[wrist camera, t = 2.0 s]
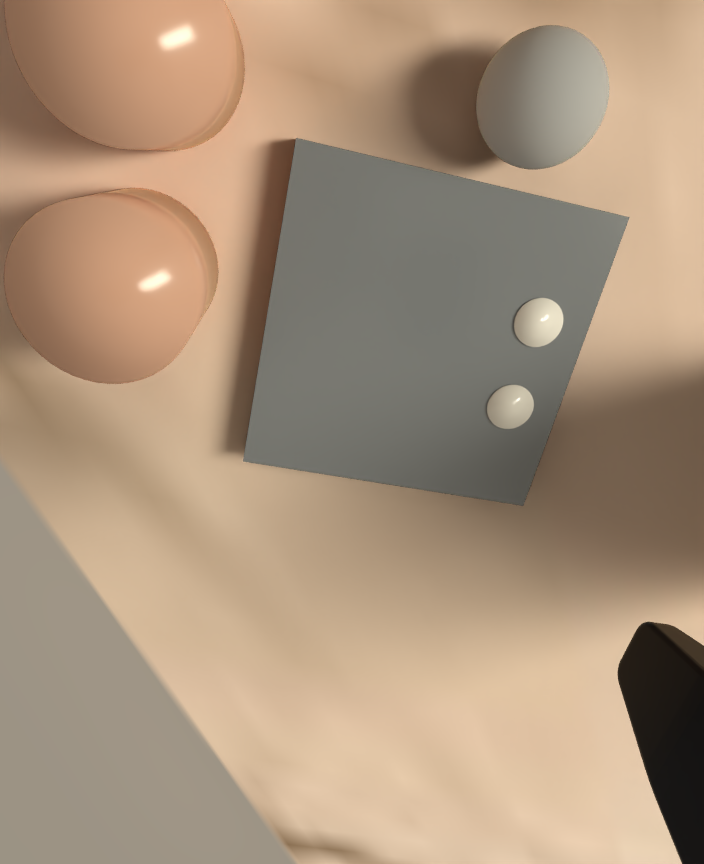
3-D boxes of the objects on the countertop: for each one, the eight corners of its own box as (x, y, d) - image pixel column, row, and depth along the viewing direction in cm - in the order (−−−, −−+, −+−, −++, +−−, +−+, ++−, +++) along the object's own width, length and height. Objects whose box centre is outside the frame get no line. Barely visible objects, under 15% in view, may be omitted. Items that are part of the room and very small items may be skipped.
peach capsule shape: (227, 206, 17) (206, 221, 13) (209, 348, 18) (185, 397, 15) (71, 172, 16) (3, 177, 13) (65, 322, 18) (3, 366, 14)
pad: (615, 214, 17) (630, 217, 17) (515, 493, 21) (523, 506, 20) (296, 138, 16) (296, 138, 15) (245, 449, 20) (243, 462, 19)
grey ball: (594, 54, 16) (655, 33, 13) (554, 179, 17) (603, 184, 14) (482, 23, 15) (521, -6, 13) (449, 154, 17) (478, 153, 14)
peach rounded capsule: (256, -13, 15) (241, -68, 11) (233, 166, 16) (213, 169, 13) (80, -61, 14) (4, -136, 11) (73, 130, 16) (4, 123, 12)
